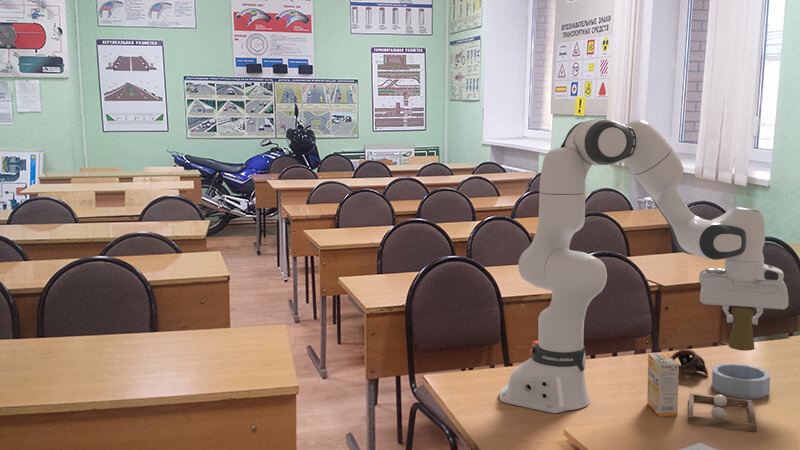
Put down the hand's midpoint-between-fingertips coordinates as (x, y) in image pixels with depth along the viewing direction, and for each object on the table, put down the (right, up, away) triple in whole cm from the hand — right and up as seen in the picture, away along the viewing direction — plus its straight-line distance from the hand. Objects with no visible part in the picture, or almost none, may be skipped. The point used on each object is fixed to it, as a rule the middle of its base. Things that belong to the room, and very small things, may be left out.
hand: (742, 323), depth 173 cm
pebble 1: (-10, -19, -9) cm, 23 cm away
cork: (0, -7, +1) cm, 7 cm away
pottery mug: (-8, -17, +14) cm, 24 cm away
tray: (-12, -20, -13) cm, 26 cm away
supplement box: (-24, -20, -10) cm, 33 cm away
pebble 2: (-14, -20, -17) cm, 30 cm away
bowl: (+1, -18, +2) cm, 18 cm away
